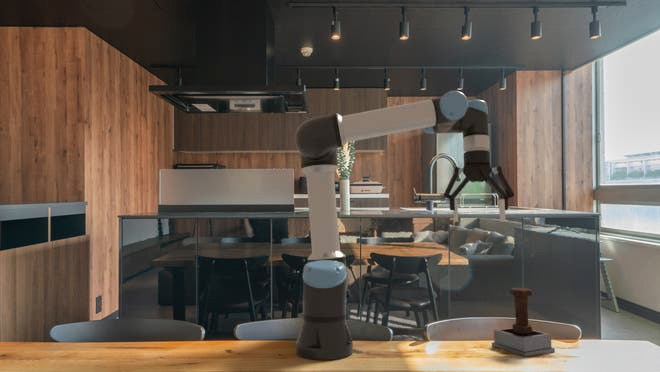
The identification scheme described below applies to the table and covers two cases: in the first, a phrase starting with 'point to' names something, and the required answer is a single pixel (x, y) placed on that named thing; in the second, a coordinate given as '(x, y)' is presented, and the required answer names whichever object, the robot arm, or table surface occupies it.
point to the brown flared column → (521, 311)
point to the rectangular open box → (523, 342)
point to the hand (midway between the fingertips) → (479, 221)
